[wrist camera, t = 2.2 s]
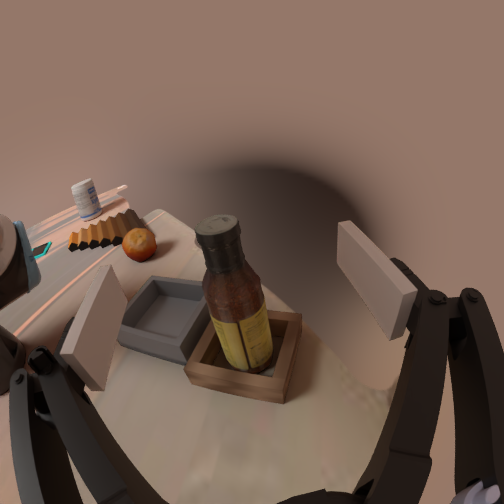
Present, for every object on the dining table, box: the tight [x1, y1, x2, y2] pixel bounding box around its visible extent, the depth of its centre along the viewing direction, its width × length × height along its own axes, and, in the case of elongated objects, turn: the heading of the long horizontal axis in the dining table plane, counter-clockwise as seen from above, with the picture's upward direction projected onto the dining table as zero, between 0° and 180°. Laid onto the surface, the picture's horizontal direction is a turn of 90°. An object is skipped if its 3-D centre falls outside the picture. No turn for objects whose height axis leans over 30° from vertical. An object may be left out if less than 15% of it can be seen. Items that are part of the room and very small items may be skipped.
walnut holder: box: [184, 310, 302, 404], centre depth 34 cm, size 12×12×4 cm
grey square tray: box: [117, 276, 211, 366], centre depth 40 cm, size 13×13×4 cm
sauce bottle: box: [195, 215, 273, 374], centre depth 30 cm, size 7×6×20 cm
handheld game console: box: [32, 242, 51, 259], centre depth 74 cm, size 10×16×1 cm, turn 113°
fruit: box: [122, 228, 157, 262], centre depth 60 cm, size 8×8×8 cm
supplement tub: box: [71, 179, 102, 221], centre depth 91 cm, size 10×10×15 cm
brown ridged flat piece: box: [68, 209, 146, 252], centre depth 73 cm, size 25×3×25 cm
